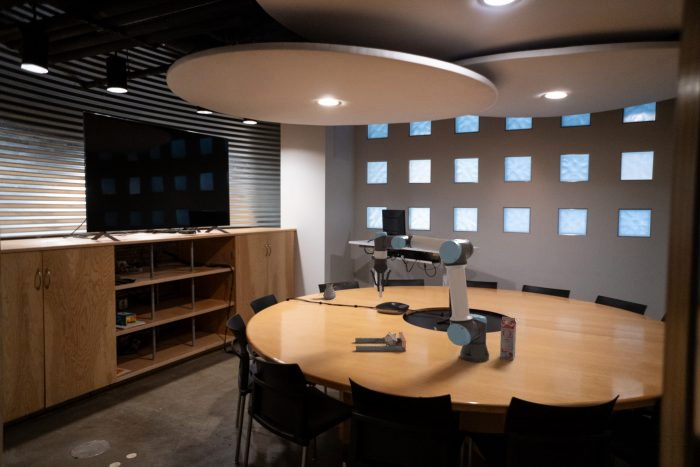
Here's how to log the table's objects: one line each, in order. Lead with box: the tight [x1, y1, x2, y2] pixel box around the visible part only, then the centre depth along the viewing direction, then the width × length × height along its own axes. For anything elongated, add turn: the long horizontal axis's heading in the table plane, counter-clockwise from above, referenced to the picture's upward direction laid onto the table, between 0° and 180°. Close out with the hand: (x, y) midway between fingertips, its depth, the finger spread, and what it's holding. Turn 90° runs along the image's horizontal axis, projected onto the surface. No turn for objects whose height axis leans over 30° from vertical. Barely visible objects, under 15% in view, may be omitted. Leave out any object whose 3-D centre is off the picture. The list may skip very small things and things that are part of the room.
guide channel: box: [354, 331, 407, 352], centre depth 255 cm, size 17×28×6 cm, turn 90°
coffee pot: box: [322, 282, 346, 300], centre depth 383 cm, size 21×12×15 cm, turn 63°
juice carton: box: [499, 316, 517, 361], centre depth 237 cm, size 7×7×22 cm
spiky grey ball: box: [382, 331, 399, 346], centre depth 255 cm, size 9×8×10 cm
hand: (380, 297), depth 263 cm, fingers closed
